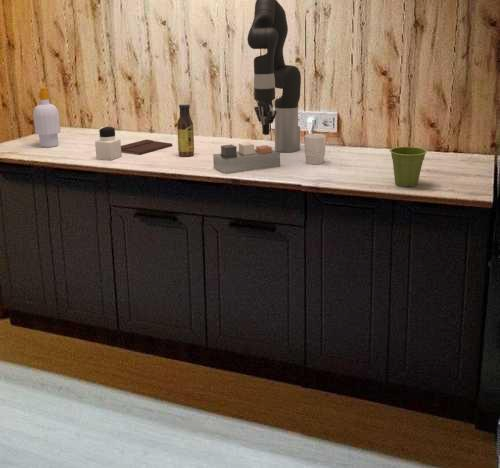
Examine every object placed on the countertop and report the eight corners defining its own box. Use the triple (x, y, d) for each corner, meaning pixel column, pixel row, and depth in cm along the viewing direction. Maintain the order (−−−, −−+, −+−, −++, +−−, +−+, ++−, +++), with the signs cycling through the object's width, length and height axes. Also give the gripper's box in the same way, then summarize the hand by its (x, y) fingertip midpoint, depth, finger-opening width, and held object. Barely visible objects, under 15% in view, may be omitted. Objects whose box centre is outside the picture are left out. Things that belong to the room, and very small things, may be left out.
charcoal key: (231, 153, 264) (231, 144, 263) (236, 156, 261) (236, 146, 259) (221, 155, 262) (220, 145, 261) (225, 157, 259) (225, 147, 258)
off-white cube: (249, 151, 267) (249, 142, 266) (254, 154, 263) (254, 144, 262) (238, 153, 265) (238, 143, 264) (243, 155, 262) (243, 145, 261)
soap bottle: (67, 144, 311) (61, 87, 303) (48, 149, 303) (42, 90, 295) (50, 142, 316) (43, 86, 308) (31, 146, 308) (24, 89, 300)
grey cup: (327, 160, 273) (328, 134, 270) (322, 165, 266) (323, 138, 263) (307, 159, 276) (307, 133, 272) (301, 164, 269) (301, 137, 265)
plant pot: (384, 187, 236) (386, 153, 232) (391, 178, 246) (393, 145, 243) (422, 190, 232) (424, 155, 228) (427, 181, 242) (429, 147, 238)
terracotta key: (266, 154, 270) (266, 145, 269) (271, 156, 267) (271, 147, 266) (256, 155, 269) (256, 146, 268) (261, 158, 265) (261, 148, 264)
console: (267, 160, 275) (267, 147, 273) (280, 166, 266) (280, 152, 264) (213, 167, 266) (213, 154, 264) (224, 173, 257) (224, 159, 256)
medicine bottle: (122, 156, 287) (119, 126, 283) (111, 160, 280) (108, 129, 277) (107, 155, 289) (104, 125, 286) (96, 159, 283) (93, 128, 279)
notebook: (172, 147, 304) (172, 142, 303) (139, 156, 289) (139, 151, 288) (146, 143, 312) (145, 139, 312) (112, 152, 297) (112, 147, 297)
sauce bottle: (191, 157, 283) (189, 105, 277) (176, 156, 284) (173, 105, 278) (196, 153, 289) (194, 103, 283) (181, 153, 290) (178, 103, 284)
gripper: (282, 87, 255) (284, 136, 261) (264, 83, 266) (266, 130, 272) (263, 89, 252) (265, 139, 258) (246, 85, 263) (248, 132, 269)
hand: (265, 134), depth 265 cm, fingers closed
